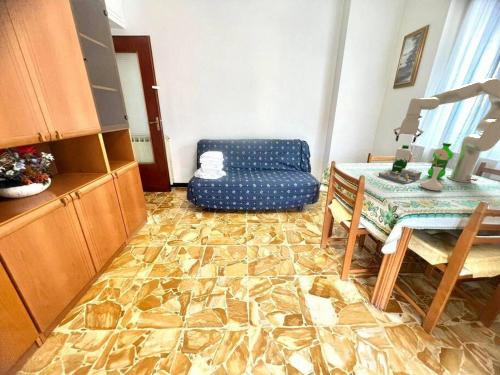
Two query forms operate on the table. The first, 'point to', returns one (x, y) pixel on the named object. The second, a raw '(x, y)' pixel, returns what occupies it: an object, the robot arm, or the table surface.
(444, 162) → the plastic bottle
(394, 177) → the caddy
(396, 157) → the milk carton
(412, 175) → the block
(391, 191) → the table surface
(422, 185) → the flower in vase
